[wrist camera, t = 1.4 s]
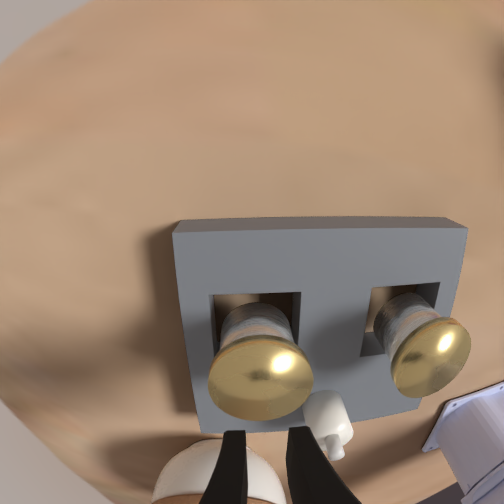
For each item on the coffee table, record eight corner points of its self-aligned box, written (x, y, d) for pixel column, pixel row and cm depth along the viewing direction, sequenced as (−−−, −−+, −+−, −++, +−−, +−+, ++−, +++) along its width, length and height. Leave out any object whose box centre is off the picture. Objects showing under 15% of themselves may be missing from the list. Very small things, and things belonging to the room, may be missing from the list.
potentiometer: (344, 387, 18) (363, 439, 14) (338, 414, 19) (354, 464, 15) (303, 392, 18) (316, 446, 14) (300, 418, 19) (311, 470, 15)
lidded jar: (138, 453, 24) (119, 536, 15) (210, 402, 21) (202, 513, 13) (227, 492, 26) (228, 566, 18) (305, 452, 24) (323, 540, 15)
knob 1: (299, 293, 16) (318, 342, 12) (295, 362, 17) (308, 417, 13) (210, 296, 16) (202, 347, 12) (216, 365, 17) (212, 422, 13)
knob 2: (438, 283, 16) (481, 319, 12) (422, 346, 18) (455, 388, 14) (372, 288, 16) (408, 332, 12) (361, 355, 17) (386, 405, 13)
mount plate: (445, 217, 18) (468, 228, 15) (405, 388, 22) (417, 408, 20) (181, 220, 17) (172, 232, 15) (203, 408, 22) (201, 433, 19)
